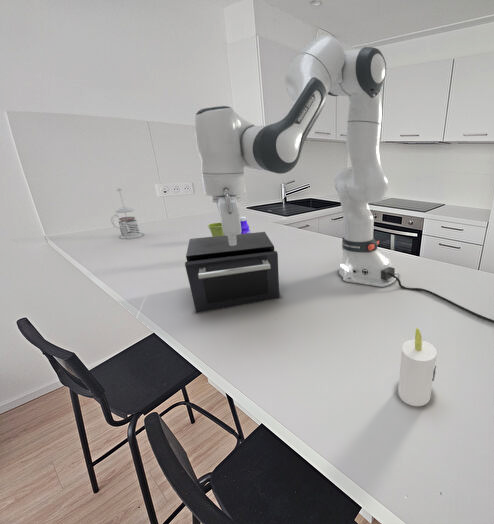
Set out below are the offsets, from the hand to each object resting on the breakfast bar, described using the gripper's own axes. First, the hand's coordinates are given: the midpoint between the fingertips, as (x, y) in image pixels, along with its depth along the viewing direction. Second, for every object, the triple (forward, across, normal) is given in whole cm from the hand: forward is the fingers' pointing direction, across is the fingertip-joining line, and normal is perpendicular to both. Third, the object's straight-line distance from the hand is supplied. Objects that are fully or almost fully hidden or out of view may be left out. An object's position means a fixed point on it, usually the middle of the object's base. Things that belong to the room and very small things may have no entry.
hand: (232, 244), depth 72 cm
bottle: (+23, +57, -6) cm, 62 cm away
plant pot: (+23, +85, +3) cm, 88 cm away
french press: (+23, +112, +47) cm, 124 cm away
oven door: (+23, +11, 0) cm, 26 cm away
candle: (+23, -39, -28) cm, 53 cm away
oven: (+23, +23, 0) cm, 32 cm away
